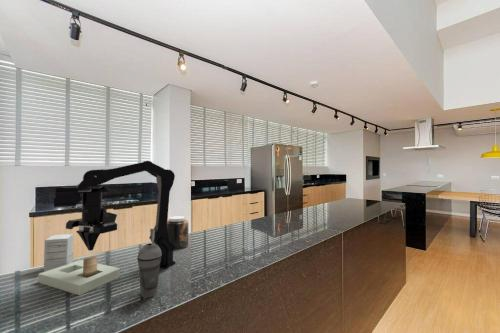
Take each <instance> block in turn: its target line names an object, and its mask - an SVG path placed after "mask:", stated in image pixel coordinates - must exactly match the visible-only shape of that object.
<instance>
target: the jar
mask: <svg viewBox="0 0 500 333" xmlns="http://www.w3.org/2000/svg"><path fill="white" fill-rule="evenodd" d="M167 227H168V231H169V239H170V242H171V243H172V244H173V245H175V249H174V251H175V250H182V249H185V247H186V248H187V247H188V246H189V221H188V220H186V216H182V215H181V216H180V215H178V216H177V215H176V216H175V215H174V216H169V217H168V220H167Z"/></svg>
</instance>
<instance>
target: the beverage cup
mask: <svg viewBox="0 0 500 333" xmlns="http://www.w3.org/2000/svg"><path fill="white" fill-rule="evenodd" d="M154 234H155V230H153V236H152V242H150V243H146V244H144V245H143V246H142V247H141V248H140V249H139V251H138V254H137V258H136V260H137V263H138V264H137V266H138V273H139V287H140V289H139V290H140V296H141V297H142V296H143V297H142V298H151V297H154V296H155V295H156V294H157V292H158V291H157V290H158V287H159V286H158V285H159V276H160V262H161V257H162V253H161V249H160V248H159V246H158V245H156V244H154V243H153V241H154Z"/></svg>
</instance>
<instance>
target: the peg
mask: <svg viewBox="0 0 500 333" xmlns="http://www.w3.org/2000/svg"><path fill="white" fill-rule="evenodd" d="M82 260H83V277H85V278H88V277H91V276H93V275H96V274H97V263H98V257H97V256H91V257H90V256H89V257H86V258H84V259H82Z"/></svg>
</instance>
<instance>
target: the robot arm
mask: <svg viewBox="0 0 500 333" xmlns="http://www.w3.org/2000/svg"><path fill="white" fill-rule="evenodd" d="M143 172H146V173H148V174H149V175H151V176H152V177H155V178H156V186H157V190H158V194H157V205H156V206H157V207H156V216H155V225H154V228H150V230H149V232H150V233H149V237H148V238H149V240H150V243H152V236H153V230H155V234H154V241H153V243H154V244H156V245H158V246H159V248H160V249H161V253H162V257H161V262H160V268H161V269H166V268H168V267H170V266H172V265H174V264H176V261H175V260H174V251H175V250H176V249H175V245H173V244H172V243H171V242H170V239H169V231H168V227H167V221H168V219H169V217H168V216H169V205H170V193H171V189H172V187H173V186H174V182H175V177H176V175H175V172H174V171H173V170H172V169H169V168H168V169H165V168H164V167H161V166H159V165H157V164H155V163H154V162H153V161H151V160H144V161H141V162H137V163H134V164H128V165H124V166H119V167H115V168H106V169H105V168H101V169H91V170H87V171H86V172H85V173H84V174H83V176H82V180H81V182H79V184H77V185H76V186H70V187H68V186H67V187H65V186H56V187H55V193H54V198H53V208H56V209H58V208H72V207H73V208H74V207H76V205H79V204H81V208H78V212H79V213H81V218H76V219H71V220H68V221H67V222H66V223H65V229H66V230H73V228H77V227H78V230H76V231H75V232H76V233H77V235H79V237H80V238H81V240H82V242H83V243H84V245H85V247H86V248H87V250H88V251H93V250H94V249H95V246H96V243H97V241H98V239H99V236H100V234H106V233H110V232H115V231H117V230H118V224H117V222H116V219H117V216H118V214H117V213H112V212H109V211H107V210H106V207H102V205H103V193H108V192H109V190H108V189H107V188H106V187H105V185H102V184H105V183H107V182H109V181H111V180H114V179H117V178H122V177H126V176H129V175H134V174H138V173H143ZM100 185H101V186H100ZM98 186H100V187H98ZM89 187H91V188H90V190H86V189H88V188H89ZM81 194H82V195H81ZM81 196H82V198H81ZM174 249H175V250H174ZM160 268H159V269H160Z"/></svg>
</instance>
